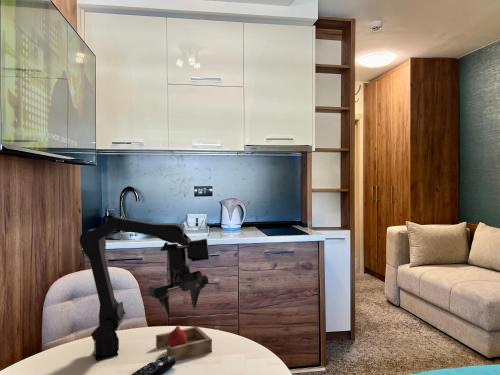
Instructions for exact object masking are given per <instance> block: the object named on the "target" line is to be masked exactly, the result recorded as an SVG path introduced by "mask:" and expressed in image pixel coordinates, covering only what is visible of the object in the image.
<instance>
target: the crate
mask: <svg viewBox="0 0 500 375" xmlns="http://www.w3.org/2000/svg"><path fill="white" fill-rule="evenodd" d="M181 330H183V331H184V332H185V334H186V337H187V340H186V344H183V345H179V346H175V347H170V346H169V344H168V337H169V335H170V333H171V332H172V331H168V332H164V333H160V334H156V335H155V347H156V349H157V350H158V349H161V348H166V347H167V348H166V357H167V356H173V357H175V359H176V361H175V362H178V361H182V360H186V359H191V358H194V357H197V356H202V355H205V354H210V353H213V339H212V338H211V337H210V336H209V335H207V333H205V332H204V331H203V330H202V329H200V328H199V327H198V326H197V325H196V326H192V327H187V328H183V329H181ZM187 342H188V343H187Z"/></svg>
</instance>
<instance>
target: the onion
mask: <svg viewBox="0 0 500 375" xmlns="http://www.w3.org/2000/svg"><path fill="white" fill-rule="evenodd" d="M170 332H171V333H170V335H169V337H168V344H169V346H168V347H169V348H170V347H175V346H179V345H183V344H187V342H186V340H187V337H186V334H185V332H184V331H183V330H182V329H181V326H180V325H176V326H175V328H173V330H172V331H170Z"/></svg>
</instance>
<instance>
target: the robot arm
mask: <svg viewBox="0 0 500 375" xmlns="http://www.w3.org/2000/svg"><path fill="white" fill-rule="evenodd" d="M115 231H123V232H128V233H129V232H130V233H136V234H139V235H147V236H152V237H155V238H157V239H159V240H162V241H164V244H163V246H162V247H161V248H160V249H159V250H160V251H161V252H164V251H165V252H166V254H167V265H168V266H166V271H168V278H169V279H168V278H167V283H168V284H163V283H156V284H152V285H149V287H148V289H147V294H148V296H149V297H151V298H154V299H156V300H157V301H158V302H159V303H160V305H161V308H162V309H163V311H164V312H165V315H166V316H167V317H170V307H169V297H170V295H167V294H168V293H169V291H174V290H177V289H180V290H182V292H189V291H190V299H191V305H192V308H193V309H196V307H197V303H198V299H199V295H200V293H201V291H202V290H203V289H204V288H205V287H206V285H208V284H209V277H208V276H207V274H203V273H202V272H201V271H200V270H196V271H192V272H191V270H190V265H188V262H187V259H188V260H190V261H191V262H200V261H209V260H210V250H209V249H210V248H209V246H208V239H207V238H202V239H193V240H192V239H191V238H190V237H189V235H187V234H186V233H185V227H184V226H183V225H182V224H180V223H177V222H163V223H160V222H159V223H155V222H150V221H149V222H148V221H144V220H139V219H131V218H126V217H121V216H119V215H116V216H113V217H110V218H109V219H108V220H107V221H105V222H104V223H102V224H100V225H99V226H96V227H95V228H92V229H89V230H86V231H84V232H82V233H81V234H80V236H79V239H78V240H79V241H78V242H79V245H80V247H81V249H82V251H83V253H84V255H85V256H86V257H87V259H88V260H89V264H90V268H91V272H92V275H93V276H92V277H93V280H94V284H95V289H96V293H97V298H98V301H99V309H98V310H99V311H98V326H97V327H96V328H95V329H94V330H93V331H92V333H91V338H92V341H93V350H92V354H93V357H94V359H95V361H101V360H105V359H109V358H110V359H111V358H114V357H117V356H119V353H118V352H119V350H120V346H119V345H120V341H119V340H120V339H119V337H118V334H117V332H116V331H117V330H118V329H119V327H120V326H121V325H122V323H123V321H124V319H125V314H126V311H125V308H124V303H123V302H124V301H121V302H118V300H117V299H116V298H115V293H114V289H113V285H112V280H111V276H110V273H109V269H108V264H107V259H106V249H107V248H106V247H107V243H106V238H108V237H109V236H110V235H112V234H113V233H114V232H115ZM186 254H187V255H186Z"/></svg>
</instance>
